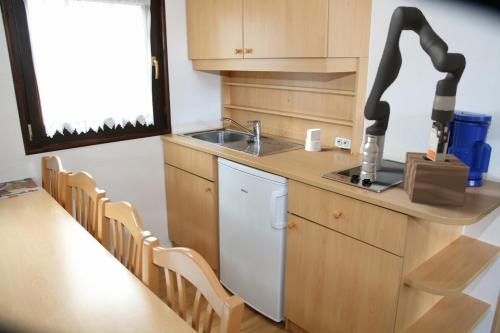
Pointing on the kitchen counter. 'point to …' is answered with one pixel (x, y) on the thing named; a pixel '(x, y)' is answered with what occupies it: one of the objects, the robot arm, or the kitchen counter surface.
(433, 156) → the skincare box
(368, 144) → the plastic bottle
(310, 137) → the cylinder with rectangular tab
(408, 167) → the walnut slot box
